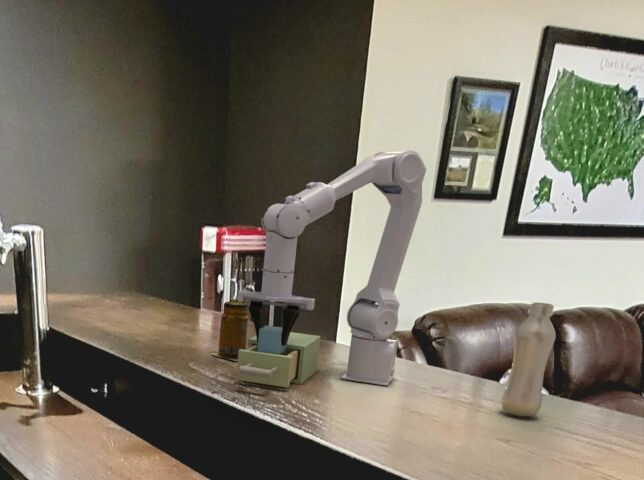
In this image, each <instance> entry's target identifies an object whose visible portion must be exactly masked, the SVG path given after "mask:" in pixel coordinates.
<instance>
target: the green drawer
mask: <svg viewBox="0 0 644 480" xmlns="http://www.w3.org/2000/svg"><path fill="white" fill-rule="evenodd" d="M299 359H300V350H297V349H289V348H286V350H285V351H284V352H282V353H281V354H272V353H265V352H258V344H256V345H254V346H252V347H250V348H248V347H247V349H246V348H245V350H242V349H240V350H239V351H238V361H237V365H236V378H235V380H237V381H242V382H248V383H255V384H261V385H268V386H274V387H275V386H276V387H282V388H289V387H290V384H291V383H290V381H291V380H292V379H293V378H295V377H296V376H297V375H298V368H299Z"/></svg>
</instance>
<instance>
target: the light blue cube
mask: <svg viewBox="0 0 644 480" xmlns="http://www.w3.org/2000/svg"><path fill="white" fill-rule="evenodd" d="M282 329H283V326H282V327H281V326H272V325H265V327H263V328H261V329H259V341H258V352H265V353H272V354H281V353H282V352H284V351H285V350H286V345H285V346H281V339H282Z"/></svg>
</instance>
